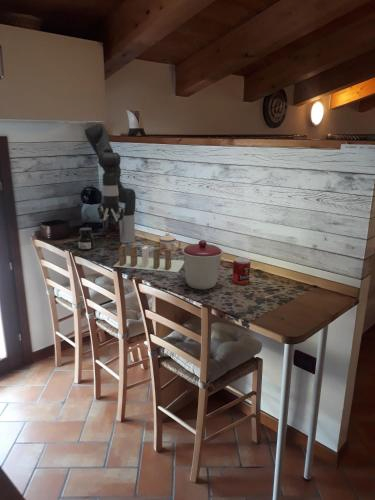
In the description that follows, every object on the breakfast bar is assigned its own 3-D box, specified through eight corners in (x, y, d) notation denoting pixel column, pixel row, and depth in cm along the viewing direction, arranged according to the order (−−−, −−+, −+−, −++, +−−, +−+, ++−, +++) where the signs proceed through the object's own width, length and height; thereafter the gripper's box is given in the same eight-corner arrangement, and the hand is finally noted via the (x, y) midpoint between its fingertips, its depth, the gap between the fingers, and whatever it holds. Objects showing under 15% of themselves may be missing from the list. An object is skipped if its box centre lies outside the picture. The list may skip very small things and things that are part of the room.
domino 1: (123, 262, 202) (122, 244, 199) (126, 263, 202) (125, 244, 199) (119, 265, 198) (118, 246, 195) (122, 266, 197) (122, 247, 194)
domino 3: (145, 264, 200) (145, 246, 197) (148, 265, 200) (148, 246, 197) (142, 267, 195) (141, 248, 192) (145, 268, 195) (145, 249, 192)
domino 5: (167, 266, 198) (167, 247, 195) (171, 267, 197) (171, 248, 194) (165, 269, 193) (165, 250, 190) (168, 270, 193) (168, 250, 190)
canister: (229, 285, 175) (231, 240, 169) (203, 296, 163) (205, 248, 157) (199, 275, 187) (200, 233, 181) (172, 285, 174) (173, 240, 169)
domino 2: (134, 263, 201) (133, 245, 198) (137, 264, 201) (137, 245, 198) (130, 266, 196) (130, 247, 194) (134, 267, 196) (133, 248, 193)
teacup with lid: (156, 253, 221) (156, 233, 218) (167, 250, 227) (167, 230, 224) (170, 257, 213) (170, 237, 210) (182, 254, 220) (182, 234, 216)
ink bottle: (75, 249, 225) (73, 229, 221) (84, 245, 233) (83, 226, 229) (89, 251, 221) (87, 231, 218) (98, 247, 229) (97, 228, 226)
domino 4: (156, 265, 199) (156, 247, 196) (159, 266, 198) (159, 247, 196) (153, 268, 194) (153, 249, 191) (156, 269, 194) (156, 250, 191)
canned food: (238, 286, 175) (240, 263, 172) (228, 280, 182) (230, 258, 179) (252, 283, 179) (254, 260, 175) (242, 278, 185) (243, 256, 182)
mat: (125, 256, 214) (125, 255, 214) (185, 261, 208) (185, 260, 208) (112, 266, 197) (112, 266, 197) (177, 272, 190) (177, 272, 190)
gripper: (93, 194, 188) (95, 228, 193) (121, 196, 186) (122, 230, 191) (100, 192, 195) (101, 225, 200) (127, 193, 193) (127, 227, 198)
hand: (111, 227), depth 195 cm, fingers open, 5 cm apart
